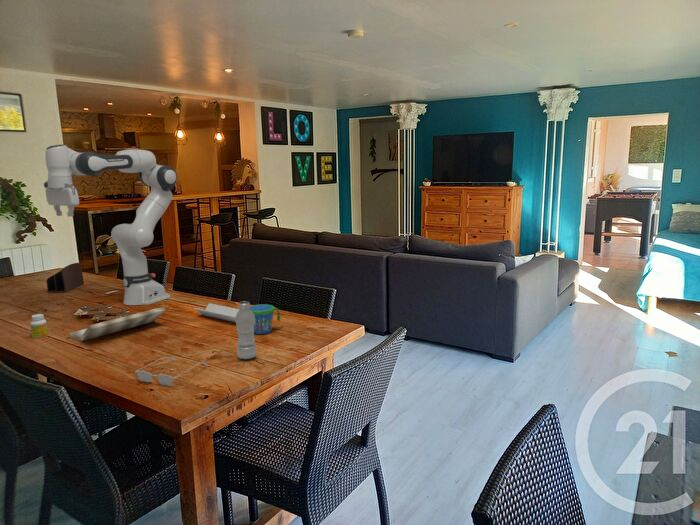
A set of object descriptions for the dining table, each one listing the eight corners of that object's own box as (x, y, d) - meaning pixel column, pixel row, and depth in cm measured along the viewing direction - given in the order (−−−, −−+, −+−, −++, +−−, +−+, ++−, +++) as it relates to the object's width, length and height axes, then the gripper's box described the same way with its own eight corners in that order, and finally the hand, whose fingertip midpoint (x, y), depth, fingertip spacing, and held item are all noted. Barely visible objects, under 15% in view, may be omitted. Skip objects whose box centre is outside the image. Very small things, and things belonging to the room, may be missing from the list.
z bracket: (210, 321, 228) (217, 310, 231) (249, 330, 214) (256, 318, 217) (194, 308, 219) (201, 296, 222) (233, 316, 205) (240, 304, 208)
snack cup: (277, 325, 207) (276, 301, 205) (284, 332, 197) (283, 308, 195) (240, 331, 200) (238, 306, 198) (245, 338, 191) (244, 313, 189)
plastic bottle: (238, 355, 174) (235, 300, 170) (258, 354, 175) (255, 299, 171) (236, 362, 168) (232, 305, 164) (256, 361, 169) (252, 304, 165)
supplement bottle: (32, 342, 192) (28, 318, 190) (33, 338, 196) (30, 314, 195) (48, 339, 194) (44, 316, 192) (49, 335, 199) (45, 312, 197)
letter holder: (84, 284, 288) (81, 260, 286) (65, 293, 269) (62, 267, 266) (67, 284, 288) (64, 261, 285) (47, 293, 269) (43, 268, 266)
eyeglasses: (135, 381, 155) (133, 370, 154) (174, 360, 172) (173, 349, 171) (174, 388, 150) (173, 376, 149) (211, 366, 166) (210, 355, 165)
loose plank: (154, 321, 211) (152, 318, 212) (165, 309, 204) (164, 306, 204) (81, 341, 188) (80, 337, 189) (91, 328, 181) (89, 325, 181)
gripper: (81, 183, 207) (85, 216, 210) (56, 183, 218) (60, 214, 221) (65, 184, 202) (70, 217, 205) (41, 183, 213) (45, 215, 216)
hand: (65, 216), depth 213 cm, fingers open, 8 cm apart
